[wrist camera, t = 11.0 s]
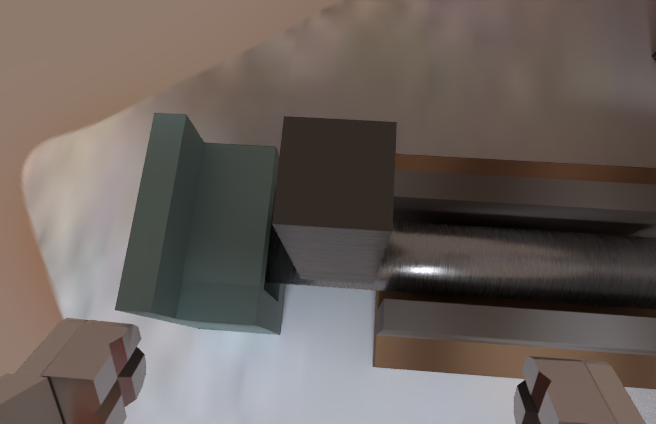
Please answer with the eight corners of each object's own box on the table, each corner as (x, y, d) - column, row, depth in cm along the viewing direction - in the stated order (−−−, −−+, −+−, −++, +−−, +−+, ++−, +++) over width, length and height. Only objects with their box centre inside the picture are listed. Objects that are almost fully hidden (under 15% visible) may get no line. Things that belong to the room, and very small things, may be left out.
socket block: (293, 201, 22) (266, 118, 15) (279, 334, 21) (241, 319, 13) (219, 197, 23) (154, 113, 15) (199, 328, 21) (114, 310, 13)
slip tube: (631, 245, 19) (886, 142, 10) (639, 314, 18) (923, 270, 9) (234, 220, 20) (143, 105, 11) (225, 285, 19) (119, 219, 10)
